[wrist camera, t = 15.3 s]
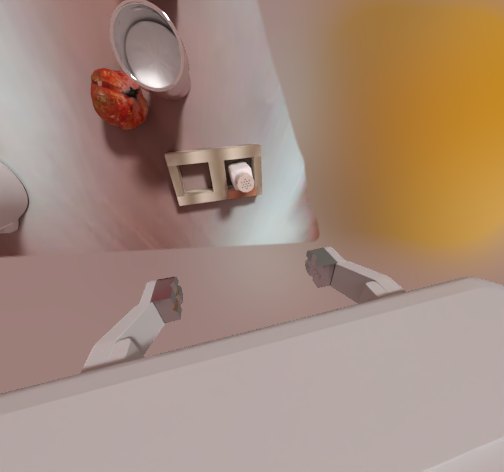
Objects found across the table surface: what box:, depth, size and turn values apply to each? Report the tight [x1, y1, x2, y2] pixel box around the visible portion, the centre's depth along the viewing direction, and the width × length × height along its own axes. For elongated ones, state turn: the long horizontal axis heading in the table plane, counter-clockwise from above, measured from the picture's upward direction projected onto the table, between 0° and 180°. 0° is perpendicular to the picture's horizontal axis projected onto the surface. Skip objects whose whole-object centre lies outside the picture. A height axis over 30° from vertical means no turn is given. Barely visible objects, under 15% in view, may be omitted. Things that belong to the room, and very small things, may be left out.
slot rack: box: [164, 144, 262, 206], centre depth 38 cm, size 18×10×3 cm, turn 94°
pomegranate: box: [91, 68, 148, 130], centre depth 28 cm, size 7×7×10 cm
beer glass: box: [109, 0, 191, 100], centre depth 24 cm, size 7×7×15 cm
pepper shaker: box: [228, 161, 255, 192], centre depth 37 cm, size 4×4×10 cm
